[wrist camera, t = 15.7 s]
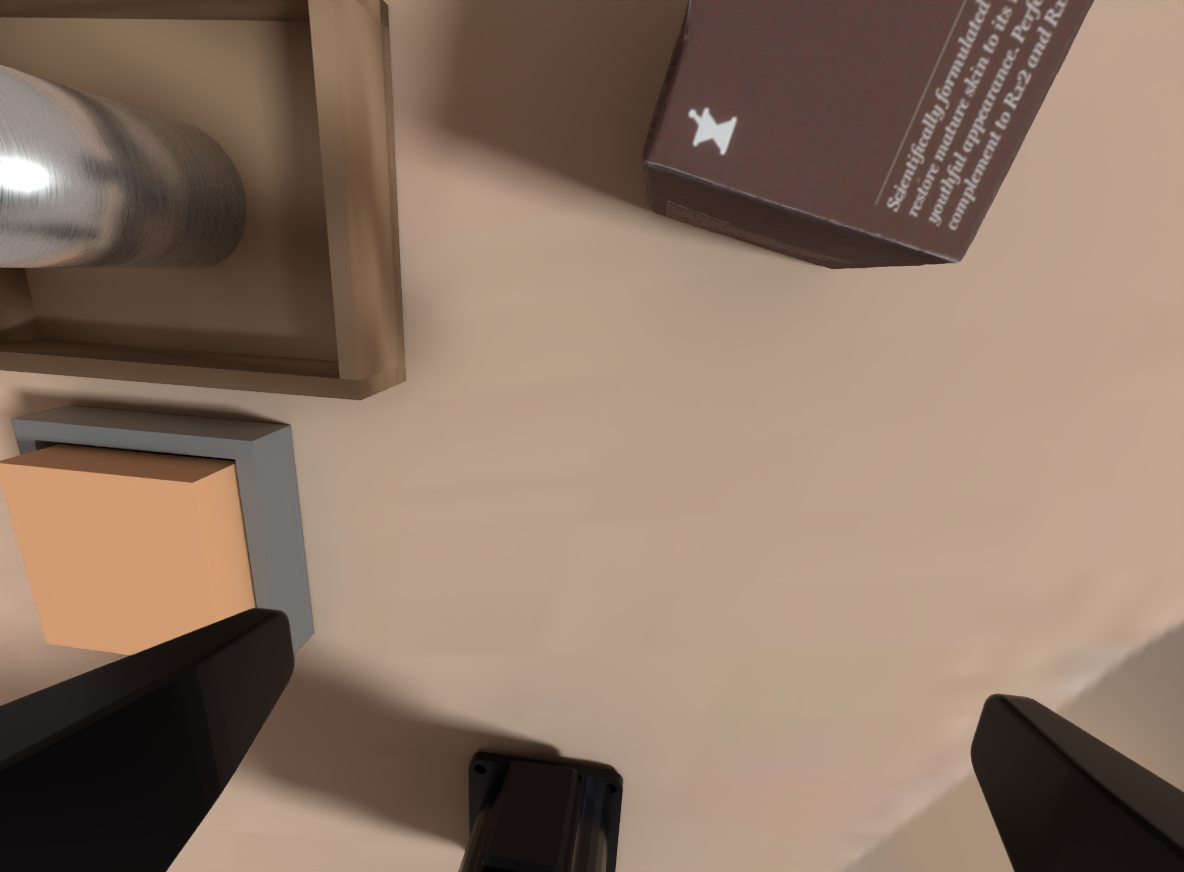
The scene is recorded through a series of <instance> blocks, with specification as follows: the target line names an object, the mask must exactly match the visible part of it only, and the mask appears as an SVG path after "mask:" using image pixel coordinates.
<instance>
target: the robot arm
mask: <svg viewBox="0 0 1184 872" xmlns="http://www.w3.org/2000/svg"><path fill="white" fill-rule="evenodd" d="M294 662H295V659H294V651H293V644H292V637H291V629H290V622H289V618H288V616H287V614H286V613H285V612H283V611H281V610H276V609H267V608H251V609H248V610H246V611H243V612H241V613H238V614H236V615H233V616H230V617H228V618H225V619H223V620H220V621H218V622H215V623H212V624H210V625H207V626H205V627H202V628H200V629H197V630H194V631H192V632H189V633H187V634H184V635H182V636H179V637H176V638H174V639H171V640H169V641H166V642H164V643H161V644H158V645H156V646H153V647H151V648H148V649H146V650H143V651H140V652H138V653H135V654H133V655H130V656H128V657H125V658H122V659H120V660H117V661H115V662H112V663H110V664H107V665H104V666H102V667H99V668H97V669H94V670H92V671H89V672H86V673H84V674H81V675H79V676H76V677H74V678H71V679H68V680H66V681H63V682H61V683H58V684H56V685H53V686H50V687H48V688H45V689H43V690H40V691H38V692H35V693H32V694H30V695H27V696H25V697H22V698H20V699H17V700H15V701H12V702H9V703H7V704H4V705H2V706H0V872H166V871H167V870H168V868H169V867H170V865H171V864H172V863H173V861H174V860H175V858H176V857H177V856H178V854H179V853H180V851H181V850H182V849H183V847H184V846H185V844H186V843H187V842H188V840H189V839H190V837H191V836H192V835H193V833H194V832H195V830H196V829H197V828H198V826H199V825H200V823H201V822H202V821H203V819H204V818H205V816H206V815H207V814H208V812H209V811H210V809H211V808H212V806H213V805H214V803H215V802H216V800H217V799H218V798H219V796H220V795H221V793H222V792H223V790H224V788H225V787H226V785H227V784H228V782H229V781H230V779H231V777H232V776H233V774H234V773H235V771H236V769H237V768H238V766H239V764H240V763H241V761H242V759H243V758H244V756H245V754H246V753H247V751H248V749H249V747H250V746H251V744H252V742H253V741H254V739H255V737H256V736H257V734H258V732H259V731H260V729H261V727H262V726H263V724H264V722H265V721H266V719H267V717H268V716H269V714H270V712H271V711H272V709H273V707H274V706H275V704H276V702H277V701H278V699H279V697H280V696H281V694H282V692H283V691H284V689H285V687H286V685H287V684H288V682H289V680H290V678H291V676H292V673H293V669H294ZM971 761H972V765H973V769H974V772H975V774H976V777H977V779H978V782H979V784H980V787H981V789H982V792H983V794H984V797H985V799H986V802H987V804H988V807H989V809H990V812H991V814H992V817H993V819H994V822H995V825H996V827H997V829H998V832H999V835H1000V837H1001V840H1002V842H1003V844H1004V847H1005V849H1006V852H1007V855H1008V857H1009V860H1010V862H1011V865H1012V867H1013V870H1014V872H1184V792H1183V791H1181V790H1180V789H1178V788H1176V787H1175V786H1173V785H1171V784H1170V783H1168V782H1167V781H1165V780H1163V779H1162V778H1160V777H1158V776H1157V775H1155V774H1154V773H1152V772H1150V771H1149V770H1147V769H1145V768H1144V767H1142V766H1140V765H1139V764H1137V763H1136V762H1134V761H1133V760H1131V759H1129V758H1127V757H1126V756H1124V755H1123V754H1121V753H1120V752H1118V751H1116V750H1115V749H1113V748H1112V747H1110V746H1108V745H1107V744H1105V743H1103V742H1102V741H1100V740H1099V739H1097V738H1095V737H1094V736H1092V735H1091V734H1089V733H1087V732H1086V731H1084V730H1082V729H1081V728H1079V727H1077V726H1076V725H1074V724H1073V723H1071V722H1069V721H1068V720H1066V719H1065V718H1063V717H1061V716H1060V715H1058V714H1057V713H1055V712H1053V711H1052V710H1050V709H1048V708H1047V707H1045V706H1044V705H1042V704H1040V703H1039V702H1037V701H1035V700H1033V699H1031V698H1028V697H1023V696H1014V695H1005V694H993V695H991V696H989V697H988V698H987V699H986V701H985V703H984V706H983V710H982V713H981V716H980V719H979V722H978V725H977V729H976V732H975V735H974V738H973V741H972V745H971ZM482 765H483V766H482ZM610 784H612V785H610ZM622 792H623V778H622V777H621V775H620V774H618V773H617V772H614V771H609V770H603V769H596V768H589V767H582V766H575V765H569V764H562V763H555V762H548V761H541V760H535V759H528V758H521V757H514V756H507V755H500V754H494V753H487V752H477V753H475V754H474V755H473V756H472V759H471V762H470V764H469V818H470V839H469V841H468V844H467V847H466V850H465V853H464V856H463V859H462V862H461V865H460V868H459V871H458V872H615V868H616V857H617V846H618V835H619V825H620V814H621V803H622Z"/></svg>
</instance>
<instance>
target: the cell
mask: <svg viewBox="0 0 1184 872" xmlns="http://www.w3.org/2000/svg"><path fill="white" fill-rule="evenodd" d="M246 211H247V210H246V198H245V193H244V188H243V185H242V181H241V179H240V176H239V174H238V171H237V169H236V168H235V166H234V164H233V162H232V160H231V159H230V157H229V156H228V154H227V153H226V152H225V151H224V149H223V148H222V147H221V146H220V145H219V144H218V143H217V142H216V141H215V140H214V139H213V138H212V137H210V136H209V135H208V134H207V133H205V132H204V131H202V130H200V129H199V128H197V127H195V126H192V125H190V124H188V123H184V122H181V121H178V120H175V119H172V118H169V117H165V116H162V115H159V114H156V113H153V112H149V111H146V110H143V109H140V108H137V107H134V106H130V105H127V104H124V103H121V102H118V101H114V100H111V99H108V98H105V97H102V96H99V95H95V94H92V93H89V92H86V91H83V90H79V89H76V88H73V87H70V86H67V85H64V84H60V83H57V82H54V81H51V80H48V79H44V78H41V77H38V76H35V75H32V74H29V73H25V72H22V71H19V70H16V69H13V68H9V67H6V66H3V65H0V267H8V268H161V269H202V268H208V267H211V266H214V265H217V264H218V263H220V262H222V261H224V260H225V259H226V258H227V257H229V256H230V254H231V253H232V252H233V251H234V250H235V248H236V247H237V245H238V244H239V242H240V240H241V238H242V235H243V232H244V228H245V223H246Z"/></svg>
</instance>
